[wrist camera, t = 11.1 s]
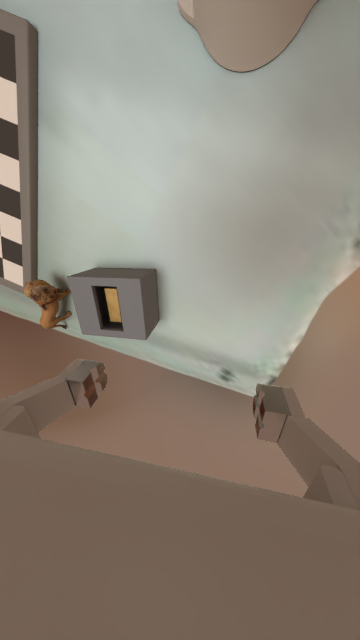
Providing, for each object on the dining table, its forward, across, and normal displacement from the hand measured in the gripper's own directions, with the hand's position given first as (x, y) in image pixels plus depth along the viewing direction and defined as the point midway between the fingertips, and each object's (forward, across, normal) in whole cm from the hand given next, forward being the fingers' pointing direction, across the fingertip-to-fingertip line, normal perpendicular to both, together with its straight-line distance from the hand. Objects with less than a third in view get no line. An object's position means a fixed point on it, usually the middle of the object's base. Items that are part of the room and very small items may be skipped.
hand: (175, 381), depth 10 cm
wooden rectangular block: (+31, +18, +7) cm, 37 cm away
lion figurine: (+32, +36, +10) cm, 49 cm away
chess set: (+33, +57, -20) cm, 69 cm away
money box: (+32, +18, +7) cm, 37 cm away
